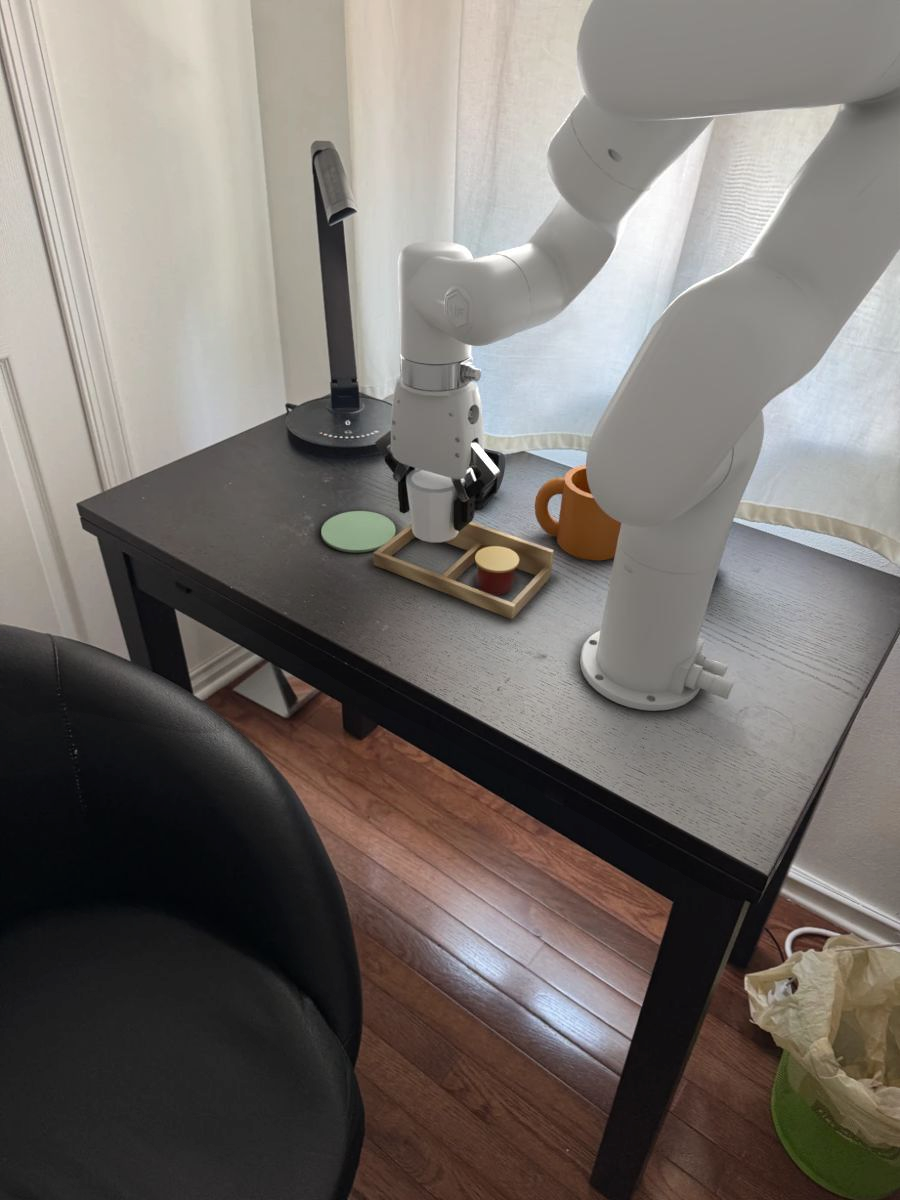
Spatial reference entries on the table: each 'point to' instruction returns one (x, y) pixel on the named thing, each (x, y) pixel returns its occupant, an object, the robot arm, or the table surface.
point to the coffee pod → (496, 569)
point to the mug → (577, 518)
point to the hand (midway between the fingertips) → (435, 515)
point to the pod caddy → (471, 540)
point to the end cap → (493, 487)
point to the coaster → (358, 531)
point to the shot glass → (431, 505)
